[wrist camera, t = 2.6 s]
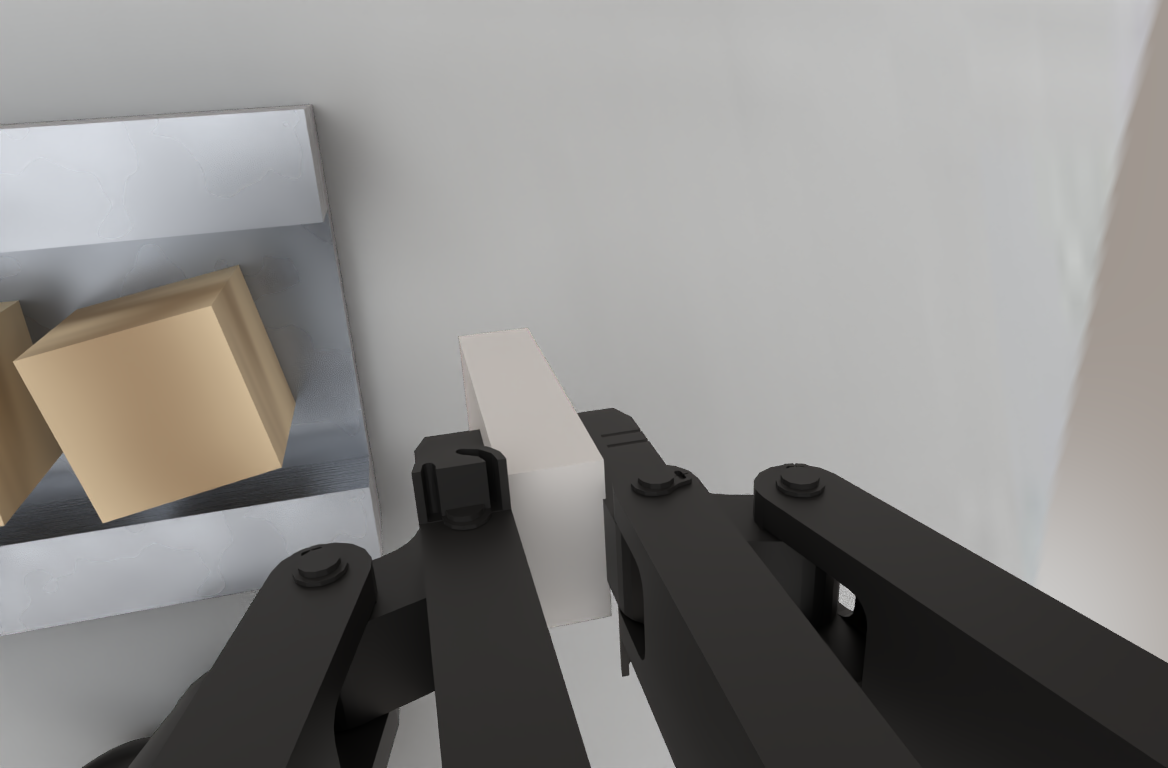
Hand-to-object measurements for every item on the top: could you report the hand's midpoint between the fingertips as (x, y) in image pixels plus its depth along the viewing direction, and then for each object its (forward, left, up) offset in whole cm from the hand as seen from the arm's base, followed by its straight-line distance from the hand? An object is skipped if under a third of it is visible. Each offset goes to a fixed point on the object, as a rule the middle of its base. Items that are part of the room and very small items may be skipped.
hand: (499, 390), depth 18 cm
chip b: (-7, 0, -5) cm, 9 cm away
